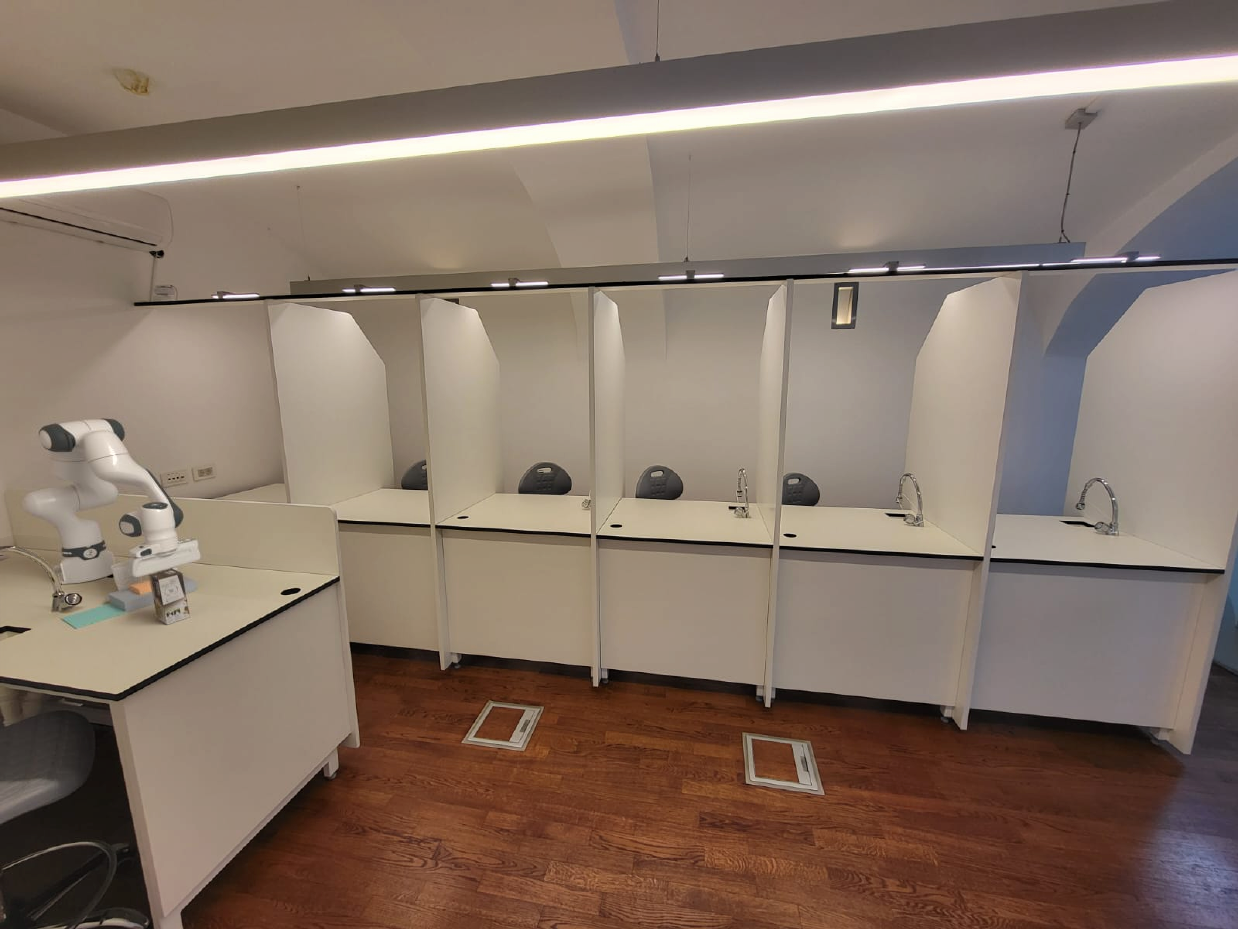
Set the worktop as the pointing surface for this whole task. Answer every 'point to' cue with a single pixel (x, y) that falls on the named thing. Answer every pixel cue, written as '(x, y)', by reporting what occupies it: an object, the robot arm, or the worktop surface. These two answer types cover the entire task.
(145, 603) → the gray block
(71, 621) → the mat
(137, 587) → the orange block
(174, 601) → the coffee box
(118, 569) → the white cup
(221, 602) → the worktop surface
